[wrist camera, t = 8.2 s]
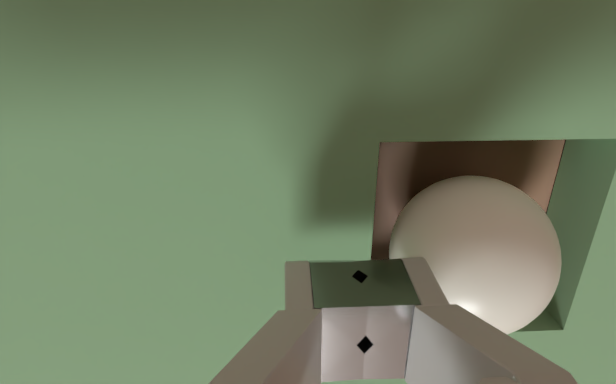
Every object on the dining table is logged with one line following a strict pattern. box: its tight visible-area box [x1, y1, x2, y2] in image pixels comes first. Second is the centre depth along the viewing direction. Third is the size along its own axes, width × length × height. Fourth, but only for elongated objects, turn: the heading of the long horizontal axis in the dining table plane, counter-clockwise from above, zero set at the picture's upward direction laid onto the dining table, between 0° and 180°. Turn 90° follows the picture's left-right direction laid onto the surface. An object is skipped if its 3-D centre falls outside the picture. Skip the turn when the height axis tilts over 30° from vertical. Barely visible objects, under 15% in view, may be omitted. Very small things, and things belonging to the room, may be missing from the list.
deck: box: [0, 0, 616, 384], centre depth 11 cm, size 14×26×2 cm, turn 90°
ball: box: [389, 176, 562, 334], centre depth 11 cm, size 4×4×4 cm
